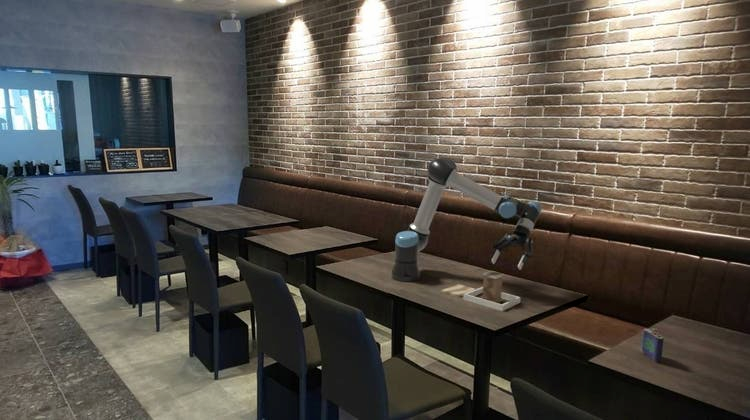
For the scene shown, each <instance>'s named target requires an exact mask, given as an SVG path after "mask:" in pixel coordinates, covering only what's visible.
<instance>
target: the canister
mask: <svg viewBox="0 0 750 420" xmlns="http://www.w3.org/2000/svg"><path fill="white" fill-rule="evenodd" d="M503 277H504V273H501V272H497V271H494V270H489V271H485V272H484V273H483V283H482V284H483V286H482V287H483V293H482V299H485V300H488V301H492V302H495V303H500V302H501V301H502V298H501V292H502V290H503Z"/></svg>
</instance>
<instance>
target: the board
mask: <svg viewBox="0 0 750 420" xmlns="http://www.w3.org/2000/svg"><path fill="white" fill-rule="evenodd" d="M476 289H477V288H473V287H470V286H466V285H462V284H459V283H457V284H455V285H451V286H449V287H447V288H444V289H441V290H440V291H441V293H444V294H447V295H450V296H453V297H456V298H460V297H461V298H462V297H463V295H464V294H465V293H468V292H471V291H473V290H476Z"/></svg>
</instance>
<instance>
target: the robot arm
mask: <svg viewBox="0 0 750 420" xmlns="http://www.w3.org/2000/svg"><path fill="white" fill-rule="evenodd" d="M457 170H458V166H457V163H456V162H455V161H454V160H453V159H452V158H451V157H450V158H449V157H448V156H442V157H436V158H434V159H432V160H431V161H430V162H429V164H428V166H427V175H428V176H427V180H428V182H429V183H428V185H427V188H426V190H425V193H424V195H423V198H422V200H421V203H420V205H419V208H418V211H417V213H416V215H415V217H414V218H415V219H414V221H413V223H411V224H409V226H408V229H407V230H404V231H400V232H397V234H396V236H395V240H394V241H395V248H394V249H395V250H394V251H395V253H394V264H393V266H392V270H391V272H390V277H391V279H393V280H394V281H395V280H396V281H400V282H416V281H418V280H420V279H421V273H420V270H419V265H418V258H419V257H418V256H419V255H418V253H420V252H421V251H423V250H425V248H426V247H427V246H428V243H429V237H430V233H431V231H430V230H429V229H430V226H431V224H432V221H433V219H434V216H435V214H436V210H437V208H438V206H439V203H440V202H441V198H442V197H443V193H444V192H445V189H446V188H448V187H451V188H452V189H454V190H456V191H457V192H460V193H462V194H463V195H465V196H467V197H469V198H471V199H472V200H475V201H476V202H478V203H480V204H482V205H484V206H486V207H488V208H490V209H492V210H493V211H495V212H496V213H498V214H499V215H500V216H501V217H503V218H504V219H510V218H514V216H515V217H518V218H519V220H518V221H517V223H516V225H515V228H514V229H513V231H512V234H511V235H509V234H508V233H505V234H504V236H503V237H502V238H500V240H498V241H497V242H496V243H495V244H494V245H492V248H493V253H492V258H491V260H490V261H491V263H492V265H495V263H496V262H497V259H498V258H499V256H500V254H501V253H500V252H501V251H503V250H505V249H507V248H508V247H512V246H513V247H516V246H517V247H521V248H522V251H523V253H524V254H522V256H521V258H520V260H519V262H518V264H517V268H518V270H520V271H521V270H522V268H523V266H524V264H526V263H527V261H528V259H533V258H534V251H533V244H534V243H533V242H534V241H533V239H532V237H530V236H531V233H532V232H533V229H534V228H535V225H536V223H537V221H538V219H539V217H540V214H541V212H542V209H543V208H542V206H541V204H540V203H538V202H537V201H533V200H530V201H528V202H527V203H526V202H523V201H522V200H521V201H520V200H518V199H516V198H515V197H512V196H509V195H507V194H505V195H503V196H501V195H500V194H498V193H496V192H494V191H493V190H490V189H489V188H487V187H485V186H483V185H481V184H479V183H477V182H476V181H474V180H472V179H470V178H468V177H467V176H464V175H462V174H461V173H459V172H458V171H457ZM529 237H530V238H529ZM525 244H528V245H527V247H528V252H527V249H526V247H525Z"/></svg>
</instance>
